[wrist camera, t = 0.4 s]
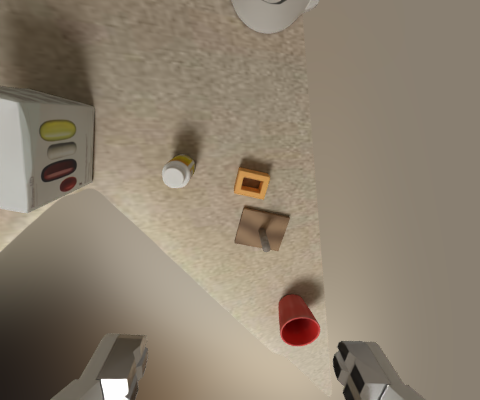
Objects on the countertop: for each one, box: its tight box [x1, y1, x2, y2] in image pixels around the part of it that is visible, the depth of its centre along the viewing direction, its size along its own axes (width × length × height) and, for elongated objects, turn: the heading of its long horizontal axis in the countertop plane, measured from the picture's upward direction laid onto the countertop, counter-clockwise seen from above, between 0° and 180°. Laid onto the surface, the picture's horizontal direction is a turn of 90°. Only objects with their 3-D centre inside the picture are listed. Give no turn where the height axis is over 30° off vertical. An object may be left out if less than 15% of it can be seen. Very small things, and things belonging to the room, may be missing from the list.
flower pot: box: [279, 294, 320, 346], centre depth 63 cm, size 11×11×10 cm
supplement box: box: [0, 86, 95, 213], centre depth 39 cm, size 17×13×18 cm
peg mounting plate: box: [235, 207, 290, 252], centre depth 53 cm, size 10×12×9 cm
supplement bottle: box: [162, 154, 195, 188], centre depth 46 cm, size 6×6×10 cm
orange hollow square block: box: [234, 167, 270, 200], centre depth 51 cm, size 5×7×4 cm
